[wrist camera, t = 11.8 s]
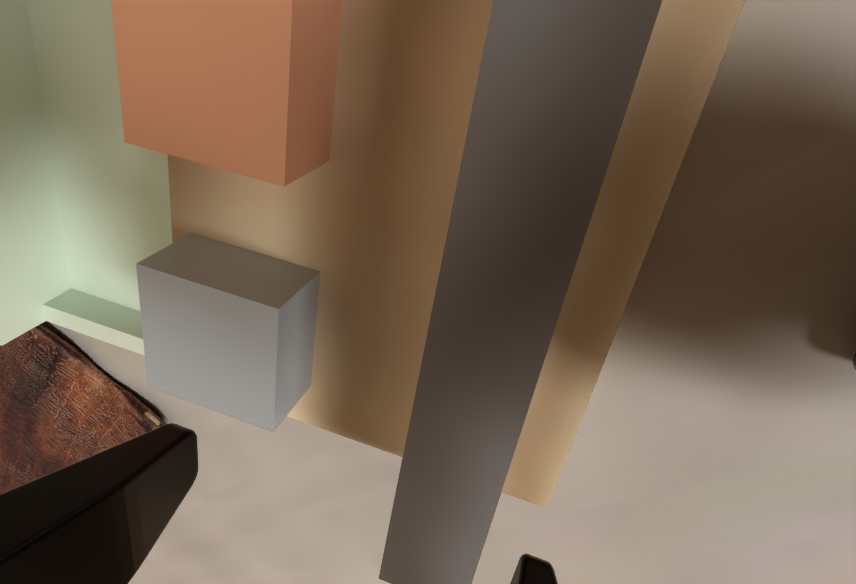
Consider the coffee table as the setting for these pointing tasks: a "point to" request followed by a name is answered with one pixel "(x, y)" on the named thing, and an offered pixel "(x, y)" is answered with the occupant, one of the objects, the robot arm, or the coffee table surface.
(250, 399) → the grey square block
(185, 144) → the terracotta tile
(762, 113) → the coffee table surface
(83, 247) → the tray
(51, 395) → the wooden tablet
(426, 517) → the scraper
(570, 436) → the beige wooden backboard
